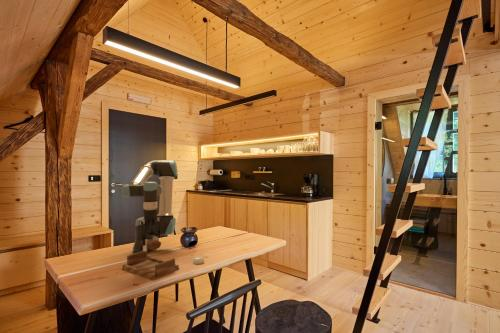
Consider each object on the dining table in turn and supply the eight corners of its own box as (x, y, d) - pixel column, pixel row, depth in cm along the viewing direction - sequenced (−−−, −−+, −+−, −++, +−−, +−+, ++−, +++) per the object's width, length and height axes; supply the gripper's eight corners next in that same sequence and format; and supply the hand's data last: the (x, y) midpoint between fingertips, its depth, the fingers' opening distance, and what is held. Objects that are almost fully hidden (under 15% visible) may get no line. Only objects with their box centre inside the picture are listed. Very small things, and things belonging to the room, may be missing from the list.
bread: (151, 252, 144) (150, 242, 144) (139, 246, 159) (138, 237, 159) (162, 249, 149) (161, 239, 148) (149, 243, 163) (148, 234, 163)
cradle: (122, 269, 152) (122, 257, 152) (149, 260, 167) (149, 248, 167) (152, 280, 137) (152, 267, 137) (179, 269, 153) (179, 257, 152)
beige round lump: (190, 263, 162) (190, 258, 162) (198, 260, 168) (198, 255, 168) (198, 265, 159) (198, 260, 159) (205, 262, 164) (205, 257, 164)
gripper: (139, 211, 142) (139, 255, 142) (168, 207, 158) (168, 246, 158) (131, 210, 146) (130, 252, 146) (160, 206, 162) (160, 244, 162)
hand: (150, 249), depth 152 cm, fingers closed on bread, 6 cm apart
